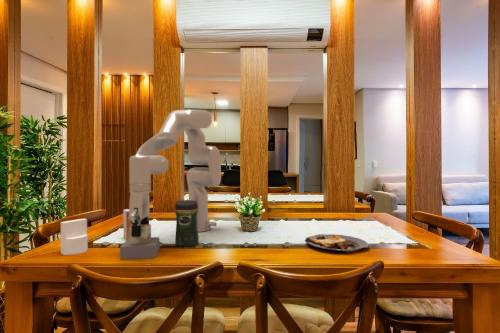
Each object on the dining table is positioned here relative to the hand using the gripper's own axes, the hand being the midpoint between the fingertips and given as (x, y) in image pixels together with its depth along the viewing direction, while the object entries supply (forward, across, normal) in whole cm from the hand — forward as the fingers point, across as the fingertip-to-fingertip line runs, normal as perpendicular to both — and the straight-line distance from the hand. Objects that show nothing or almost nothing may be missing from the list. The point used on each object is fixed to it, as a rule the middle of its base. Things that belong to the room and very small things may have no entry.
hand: (140, 233), depth 116 cm
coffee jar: (+8, -13, +15) cm, 21 cm away
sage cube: (+3, 0, 0) cm, 3 cm away
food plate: (+8, -9, +77) cm, 78 cm away
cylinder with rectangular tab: (+8, -4, -27) cm, 28 cm away
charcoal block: (+8, 0, 0) cm, 8 cm away
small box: (+8, -24, -11) cm, 28 cm away
